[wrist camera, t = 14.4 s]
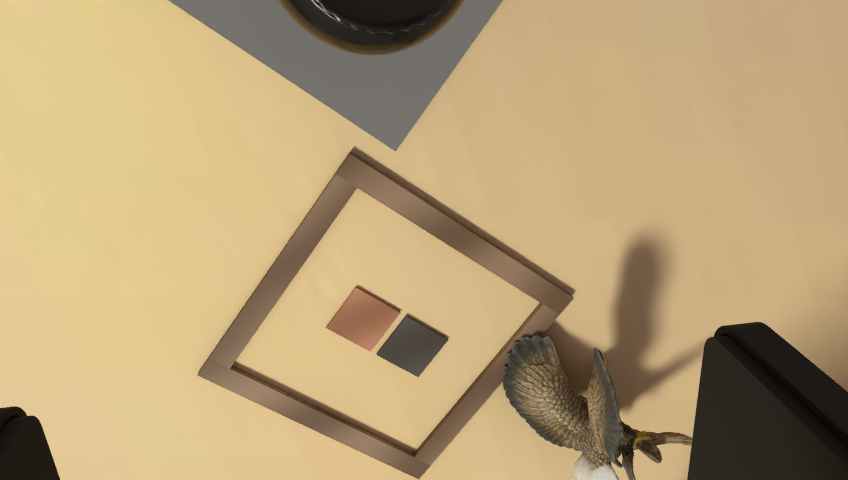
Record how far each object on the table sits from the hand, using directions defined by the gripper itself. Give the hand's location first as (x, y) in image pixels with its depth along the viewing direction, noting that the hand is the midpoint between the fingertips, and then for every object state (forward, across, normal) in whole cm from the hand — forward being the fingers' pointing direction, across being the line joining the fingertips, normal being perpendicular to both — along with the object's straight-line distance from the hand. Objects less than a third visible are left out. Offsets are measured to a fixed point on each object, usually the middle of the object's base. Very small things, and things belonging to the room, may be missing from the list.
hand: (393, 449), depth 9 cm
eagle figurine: (+23, -11, +16) cm, 31 cm away
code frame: (+23, -1, +12) cm, 26 cm away
